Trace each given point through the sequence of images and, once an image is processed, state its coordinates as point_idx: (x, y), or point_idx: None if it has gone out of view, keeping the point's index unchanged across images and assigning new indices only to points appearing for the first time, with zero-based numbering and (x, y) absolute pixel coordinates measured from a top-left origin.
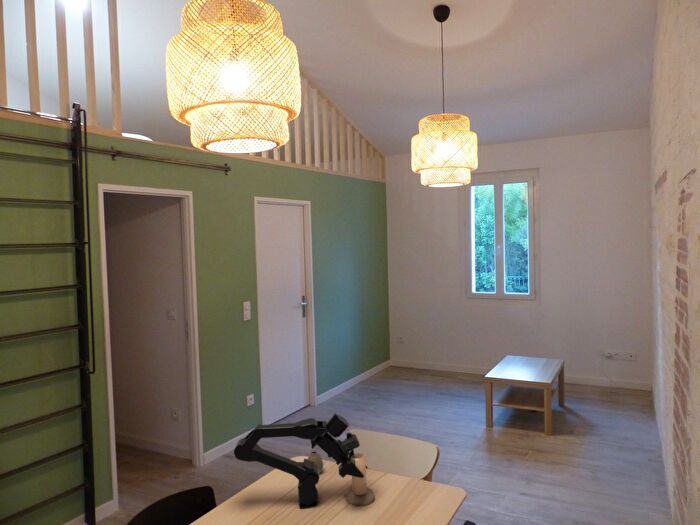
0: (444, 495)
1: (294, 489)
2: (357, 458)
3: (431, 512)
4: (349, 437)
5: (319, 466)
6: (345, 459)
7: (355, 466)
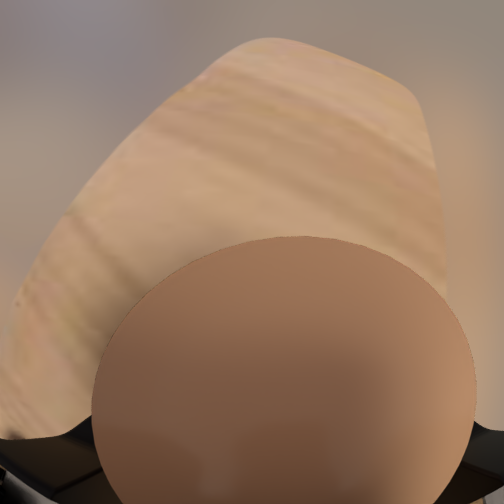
0: (285, 60)
1: None
2: (422, 452)
3: (388, 105)
4: None
5: None
6: None
7: (483, 429)
